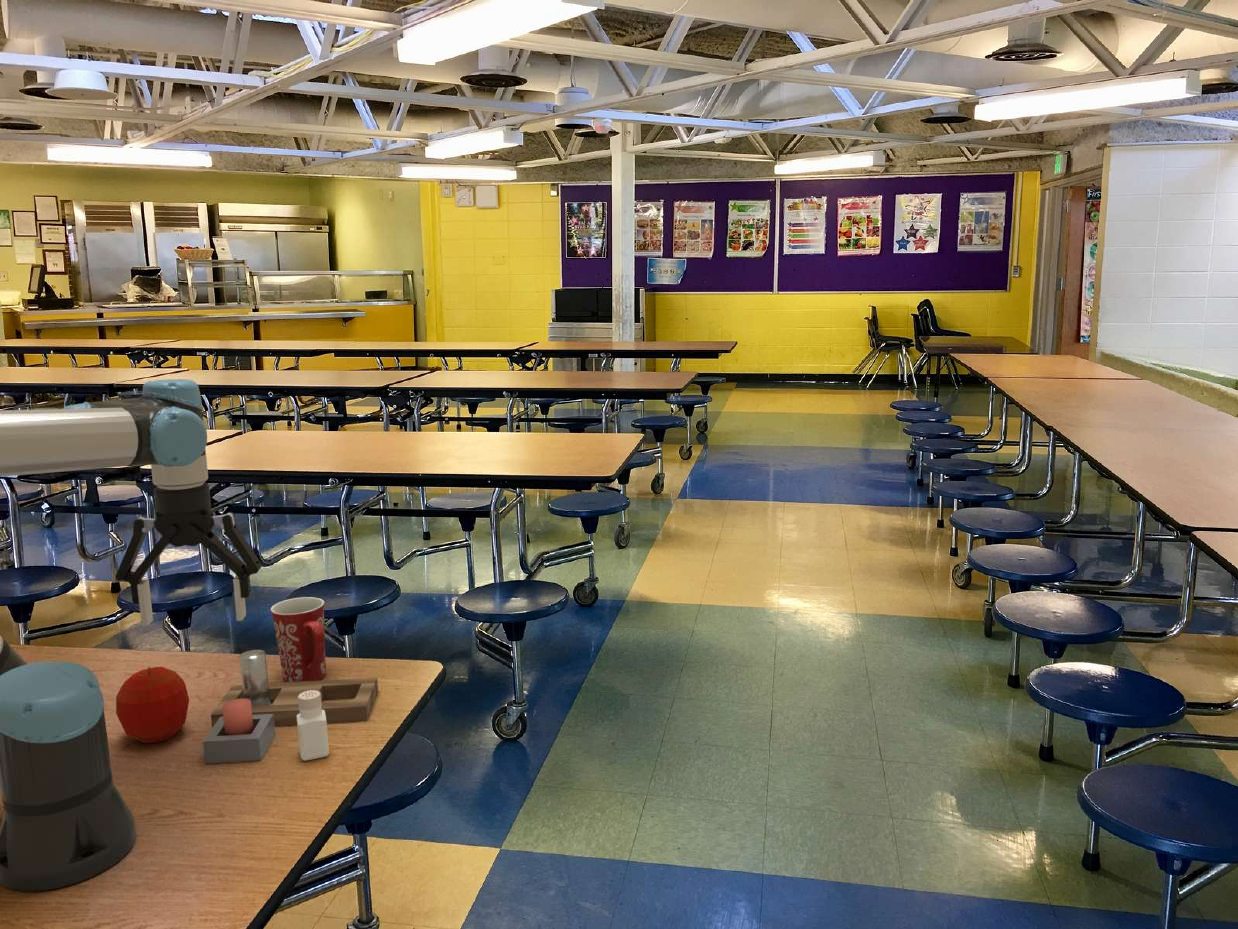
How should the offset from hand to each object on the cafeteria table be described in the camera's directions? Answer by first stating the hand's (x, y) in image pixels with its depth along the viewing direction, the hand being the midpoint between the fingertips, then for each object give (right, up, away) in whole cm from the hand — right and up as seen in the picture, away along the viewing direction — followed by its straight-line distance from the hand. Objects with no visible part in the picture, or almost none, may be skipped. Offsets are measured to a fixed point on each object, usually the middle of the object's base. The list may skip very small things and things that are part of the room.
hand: (194, 620), depth 144 cm
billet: (+5, -17, +11) cm, 21 cm away
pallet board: (+12, -17, +12) cm, 23 cm away
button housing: (+8, -19, -1) cm, 21 cm away
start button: (+8, -17, -2) cm, 19 cm away
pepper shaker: (+19, -20, -3) cm, 28 cm away
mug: (+10, -14, +23) cm, 29 cm away
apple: (-7, -19, +4) cm, 20 cm away
